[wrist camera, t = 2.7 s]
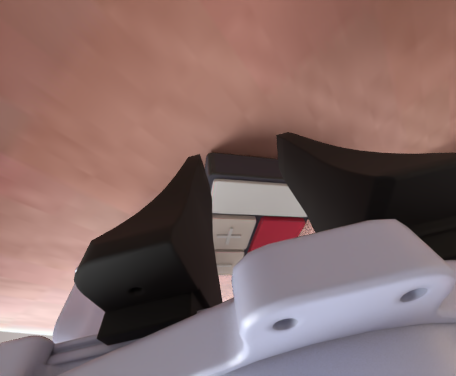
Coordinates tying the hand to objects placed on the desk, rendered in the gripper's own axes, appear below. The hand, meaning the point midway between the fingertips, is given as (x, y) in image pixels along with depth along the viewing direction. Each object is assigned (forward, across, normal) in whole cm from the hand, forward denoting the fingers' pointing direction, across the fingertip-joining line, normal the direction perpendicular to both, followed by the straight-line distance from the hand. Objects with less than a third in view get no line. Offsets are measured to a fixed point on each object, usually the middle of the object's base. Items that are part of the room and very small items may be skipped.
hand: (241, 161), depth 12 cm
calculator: (+9, 0, +12) cm, 15 cm away
